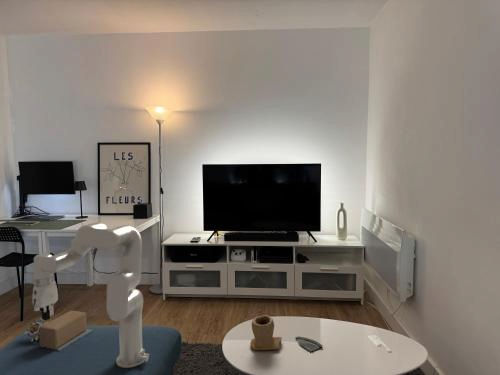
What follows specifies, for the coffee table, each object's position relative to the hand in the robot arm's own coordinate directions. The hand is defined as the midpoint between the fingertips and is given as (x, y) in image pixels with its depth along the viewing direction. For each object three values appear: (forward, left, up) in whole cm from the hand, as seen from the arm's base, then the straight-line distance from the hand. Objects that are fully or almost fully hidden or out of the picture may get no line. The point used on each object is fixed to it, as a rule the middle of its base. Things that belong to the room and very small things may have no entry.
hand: (45, 319), depth 158 cm
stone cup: (-97, -35, -15) cm, 104 cm away
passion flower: (+14, -8, -15) cm, 22 cm away
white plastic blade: (-147, -55, -16) cm, 158 cm away
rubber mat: (0, -12, -15) cm, 19 cm away
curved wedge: (-116, -44, -16) cm, 125 cm away
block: (+1, 0, -10) cm, 10 cm away
